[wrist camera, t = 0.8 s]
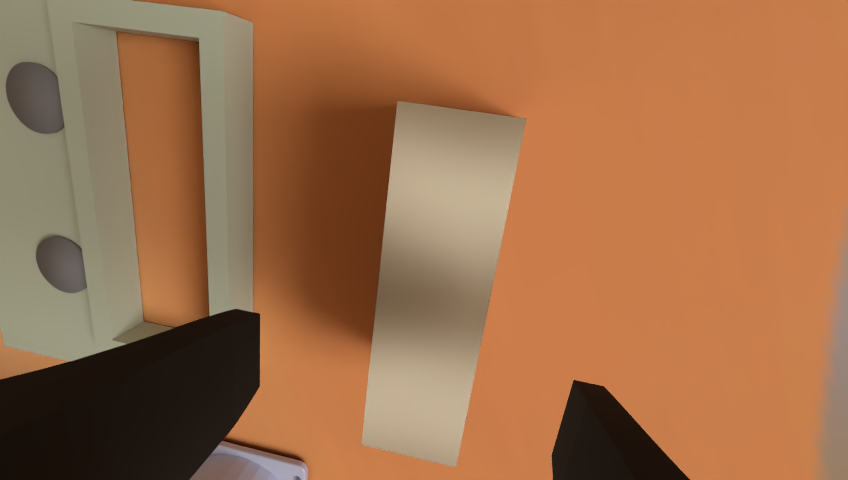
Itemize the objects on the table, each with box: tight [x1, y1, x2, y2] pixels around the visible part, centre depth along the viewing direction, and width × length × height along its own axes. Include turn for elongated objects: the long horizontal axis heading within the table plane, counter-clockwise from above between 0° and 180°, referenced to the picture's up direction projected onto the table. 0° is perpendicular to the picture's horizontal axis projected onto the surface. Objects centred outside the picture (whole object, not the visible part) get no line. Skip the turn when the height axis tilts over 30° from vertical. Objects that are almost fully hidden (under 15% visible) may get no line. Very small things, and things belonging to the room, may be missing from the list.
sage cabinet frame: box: [0, 0, 253, 362], centre depth 19 cm, size 20×14×2 cm
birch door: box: [361, 101, 526, 467], centre depth 16 cm, size 12×4×6 cm, turn 173°
